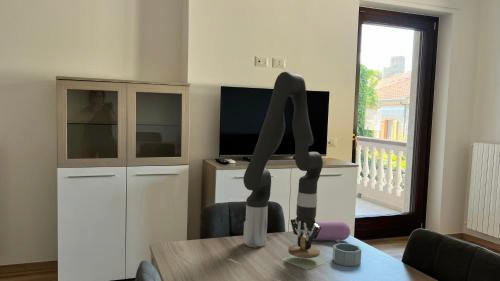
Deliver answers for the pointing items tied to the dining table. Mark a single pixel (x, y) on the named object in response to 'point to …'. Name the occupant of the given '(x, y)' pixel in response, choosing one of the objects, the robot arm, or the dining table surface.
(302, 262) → the mat
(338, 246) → the cup
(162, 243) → the dining table surface
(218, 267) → the dining table surface
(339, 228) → the toy
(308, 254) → the lid
